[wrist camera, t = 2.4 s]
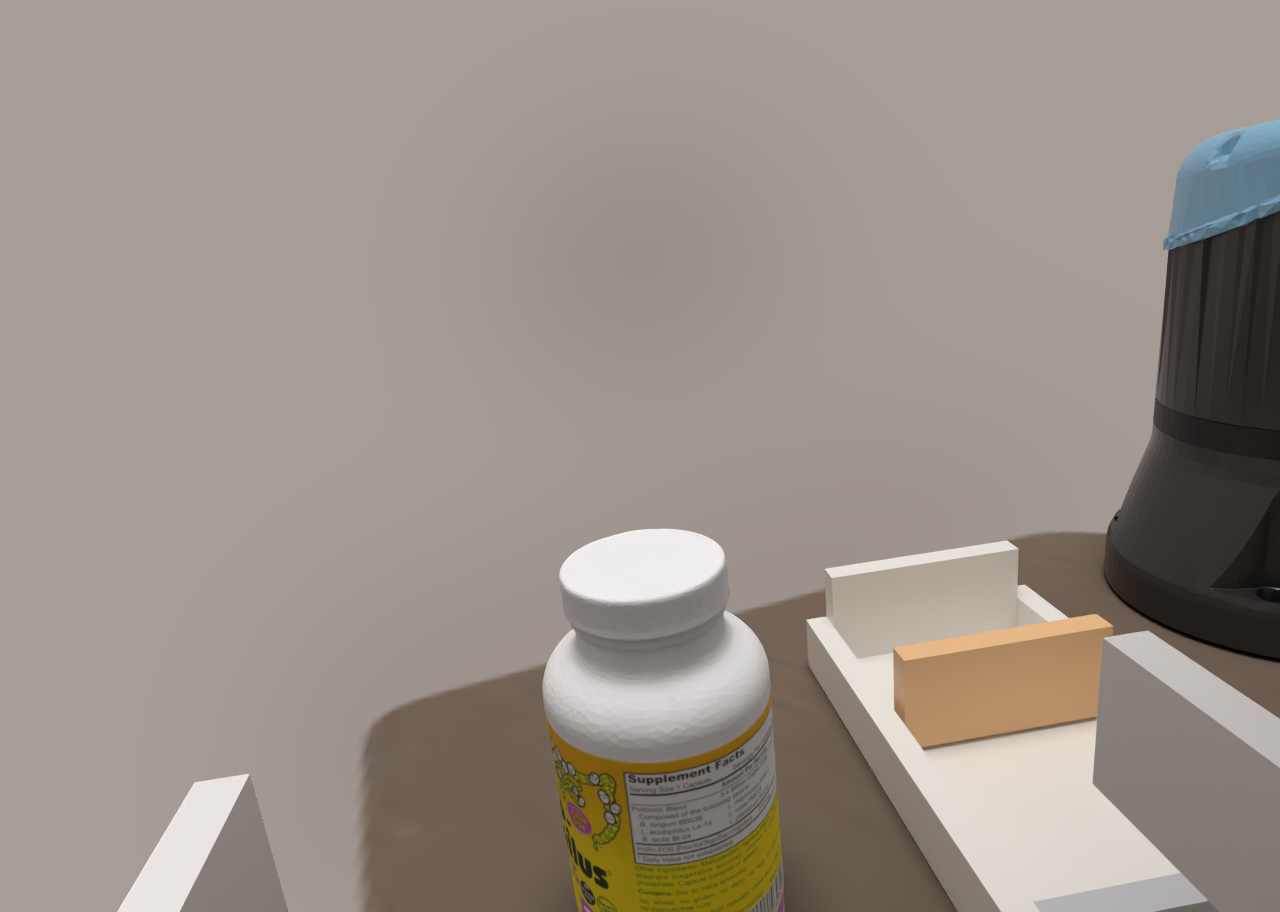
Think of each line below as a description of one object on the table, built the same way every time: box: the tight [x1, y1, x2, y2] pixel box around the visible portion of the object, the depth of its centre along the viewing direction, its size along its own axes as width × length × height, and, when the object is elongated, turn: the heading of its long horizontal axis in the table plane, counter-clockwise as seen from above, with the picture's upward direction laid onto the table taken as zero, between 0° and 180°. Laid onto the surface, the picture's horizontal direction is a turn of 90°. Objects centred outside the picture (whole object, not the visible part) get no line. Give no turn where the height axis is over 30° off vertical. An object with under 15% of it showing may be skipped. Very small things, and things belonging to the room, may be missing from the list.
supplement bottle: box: [543, 529, 785, 912], centre depth 25 cm, size 7×7×13 cm
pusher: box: [893, 614, 1113, 748], centre depth 32 cm, size 8×1×4 cm, turn 97°
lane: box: [806, 541, 1219, 912], centre depth 31 cm, size 11×18×5 cm, turn 7°
